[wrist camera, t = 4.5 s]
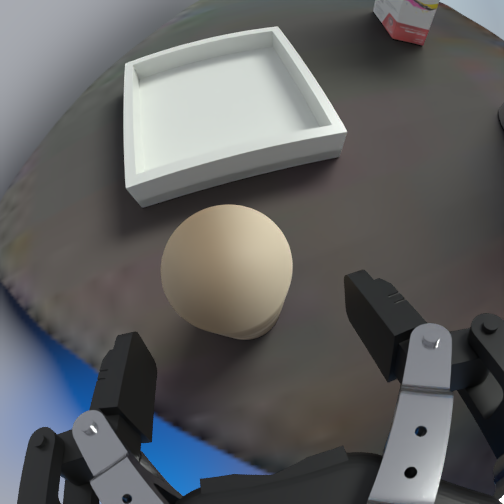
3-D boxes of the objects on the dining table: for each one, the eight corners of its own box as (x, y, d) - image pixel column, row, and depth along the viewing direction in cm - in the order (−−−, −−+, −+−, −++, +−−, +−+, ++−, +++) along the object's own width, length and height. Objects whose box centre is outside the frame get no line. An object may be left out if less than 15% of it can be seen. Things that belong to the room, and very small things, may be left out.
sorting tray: (277, 49, 26) (277, 26, 23) (339, 156, 21) (347, 131, 18) (134, 84, 26) (125, 63, 23) (142, 208, 21) (125, 188, 18)
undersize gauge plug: (269, 261, 19) (270, 190, 11) (289, 328, 18) (309, 311, 9) (202, 279, 19) (152, 224, 11) (219, 347, 18) (175, 347, 9)
